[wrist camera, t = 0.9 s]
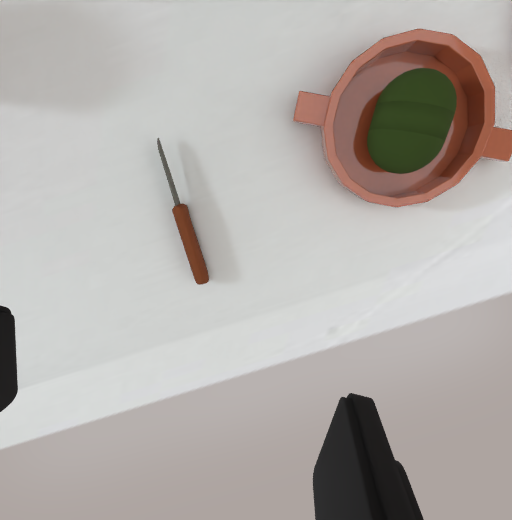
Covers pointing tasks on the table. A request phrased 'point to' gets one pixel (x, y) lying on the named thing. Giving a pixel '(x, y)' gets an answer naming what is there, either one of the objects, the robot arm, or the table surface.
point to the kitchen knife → (186, 229)
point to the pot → (363, 105)
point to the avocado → (411, 120)
